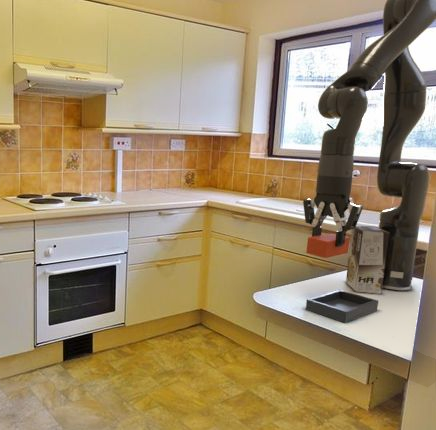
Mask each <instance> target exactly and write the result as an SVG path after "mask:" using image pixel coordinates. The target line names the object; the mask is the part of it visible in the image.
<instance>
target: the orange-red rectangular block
mask: <svg viewBox="0 0 436 430" xmlns="http://www.w3.org/2000/svg"><path fill="white" fill-rule="evenodd" d="M350 239H351V236H346V238H345V243H344V245H342V246H341V247H336V246H335V242H336V233H332V232H329V233H324V234H321V235H318V236H312V235H311V236H309V237H307V242H306V243H307V244H306V252H305V253H306V254H307V255H311V256H316V257H319V258H324V259H328V258H332V257H336V256H341V255H345V254H349V248H350Z"/></svg>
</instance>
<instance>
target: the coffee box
mask: <svg viewBox="0 0 436 430" xmlns="http://www.w3.org/2000/svg"><path fill="white" fill-rule="evenodd" d="M388 238H389V232H387V231H385V230H383V229H380V228H378V226H372V225H370V226H369V225H356V227H355V229H353V230H350V241H349V248H348V258H347V269H346V278H345V283H346V284H347V285H348V286H349V287H350V288H352V289H353V291H355V292H357V293H370V294H376V295H377V294H378V295H381V294H382V289H383V288H382V282H383V275H384V267H385V260H386V253H387V245H388Z"/></svg>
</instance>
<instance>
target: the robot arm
mask: <svg viewBox="0 0 436 430" xmlns="http://www.w3.org/2000/svg"><path fill="white" fill-rule="evenodd" d="M435 21H436V0H386V1H385V3H384V6H383V13H382V29H383V35H382V36H380V37H379V38H377V39H376V40H374V41H373V42H372V43H371V44H369V46H367V47H366V48H365V49H364V50H363V51H362V52H361V53H360V54H359V55H358V57H357V58H356V59H355V60H354V62H353V63H352V64H351V66H350V67H349V68H348V70H347V71H345V72H344V73H343V74H341V75H340V76H339V77H337V79H336V80H334V81H333V82H332V83H331V84H330V85H328V87H326V88H325V90H323V91H322V93H321V95H320V97H319V99H318V103H317V110H318V112H319V114H320V116H322V117H323V118H325V119H328V120H329V119H330V120H338V119H339V120H338V122H337V124H336V126H335V127H333V128H331V129H327V130H325V131H324V132H323V134H322V137H321V145H320V147H321V148H320V157H319V160H318V166H317V177H316V186H315V193H316V194H315V197H314V198H307V199H303V201H302V203H303V205H302V206H303V213H304V222H305V223H306V224H309V225H311V227H312V230H311V231H312V232H311V237H312V236H318V235H322V232H323V227H322V225H323V223H324V221H325V219H326V218H327V217H331V218H332V219H333V222H334V223H335V226H336V232H335V234H336V242H335V246H336V247H341V246H342V245H344V243H345V238H346V237H347V232H348V231H351V230H353V229H355V227H356V226H358V223H359V219H360V216H361V214H362V211H363V205H359V204H358V205H356V204H354V203H352V202H351V199H350V196H351V192H352V185H353V184H352V183H353V175H354V166H355V165H354V163H355V162H354V155H355V145H356V138H357V135H358V133H359V131H360V129H361V125H362V123H363V121H364V118H365V116H366V113H367V110H368V106H369V99H368V95H367V92H369V91H371V90H372V89H373V88H375V86H376V85H377V83H378V82H380V80H381V79H382V77H383V76H384V82H383V83H384V84H383V97H382V129H381V131H382V132H381V144H380V151H379V158H378V165H377V172H376V185H377V186H376V187H377V190H378V192H379V193H380V194H381V195H382V196H385V197H392V198H400V199H401V200H400V204H399V205H398V206H395V207H393V208H390V209H384V210H382V211H381V212H380V213H379V219H378V220H379V221H378V225H377V227H378V228H380V229H383V230H385V231H387V232H389V238H388V245H387V253H386V260H385V267H384V275H383V282H382V289H386V290H391V291H392V290H393V291H403V292H404V291H410V290H412V282H413V278H414V267H415V260H416V253H417V247H418V240H419V239H418V238H419V231H420V225H421V221H422V217H423V214H424V212H425V207H426V201H427V196H428V192H429V188H430V179H431V176H430V175H431V174H430V171H429V168H428V167H427V166H426V165H425V164H423V163H415V162H402V161H401V160H402V153H403V147H404V144H405V142H406V140H407V138H408V137H409V135H410V134H411V133H412V131H413V130H414V128H415V127H416V126H417V124H418V123H419V122H420V120H421V119H422V117H423V115H424V113H425V111H426V105H427V88H428V87H427V80H426V78H425V76H424V74H423V72H422V70H421V69H420V68H419V66H418V64H417V63H416V61H415V60H414V58H413V56H412V54H411V51H410V45H412V43H413V42H415V41H416V40H417V39H418V38H419V37H420V36H421V35H422V34H423V33H424V32H425V31H427V29H428V28H429V27H430V26H431V25H432V24H433V23H434V22H435ZM315 206H316V208H317V210H316V212H315ZM347 210H348V213H349V215H348V218H347V215H346V211H347Z"/></svg>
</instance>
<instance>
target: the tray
mask: <svg viewBox="0 0 436 430" xmlns="http://www.w3.org/2000/svg"><path fill="white" fill-rule="evenodd" d="M305 302H306V303H305V310H306V311H309V312H312V313H315V314H318V315H321V316H324V317H327V318H330V319H332V320H335V321H339V322H342V323H345V324H346V323H348V322H351V321H353V320H357V319H359V318H361V317H364V316H366V315H367V316H368V315H370V314H372V313H374V312H377V311H378V307H379V300H378V299H375V298H371V297H367V296H363V295H361V294H356V293H353V292H350V291H346V290H343V289H337V290H333V291H329V292H327V293H323V294H320V295H316V296H314V297H310V298H306V301H305Z"/></svg>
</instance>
